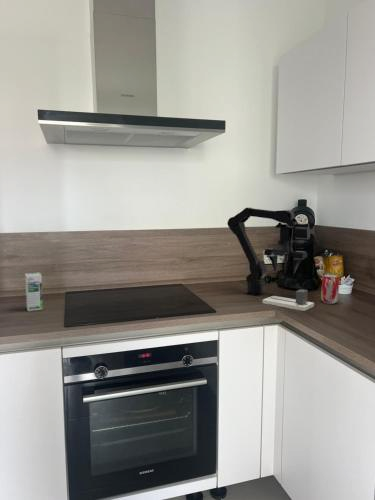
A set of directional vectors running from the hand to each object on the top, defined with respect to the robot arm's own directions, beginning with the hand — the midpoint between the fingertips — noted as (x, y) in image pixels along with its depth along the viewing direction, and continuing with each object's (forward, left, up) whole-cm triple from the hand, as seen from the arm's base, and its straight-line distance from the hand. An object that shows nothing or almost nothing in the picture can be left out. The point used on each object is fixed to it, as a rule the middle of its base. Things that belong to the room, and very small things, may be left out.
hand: (284, 272), depth 177 cm
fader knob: (+13, -10, -10) cm, 19 cm away
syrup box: (-67, -85, -12) cm, 109 cm away
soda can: (+19, +6, -12) cm, 23 cm away
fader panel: (+7, -10, -12) cm, 17 cm away
